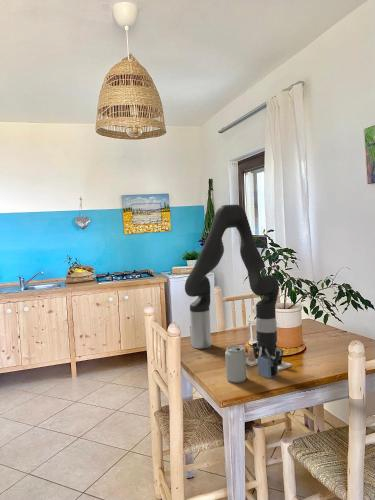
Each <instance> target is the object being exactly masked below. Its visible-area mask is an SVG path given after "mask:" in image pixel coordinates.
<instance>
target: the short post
mask: <svg viewBox="0 0 375 500" xmlns="http://www.w3.org/2000/svg"><path fill="white" fill-rule="evenodd" d="M246 365H249V366H250V367H253V366H256V365H258V359H255V357H254V351H253V348H249V349H247V356H246Z"/></svg>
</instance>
